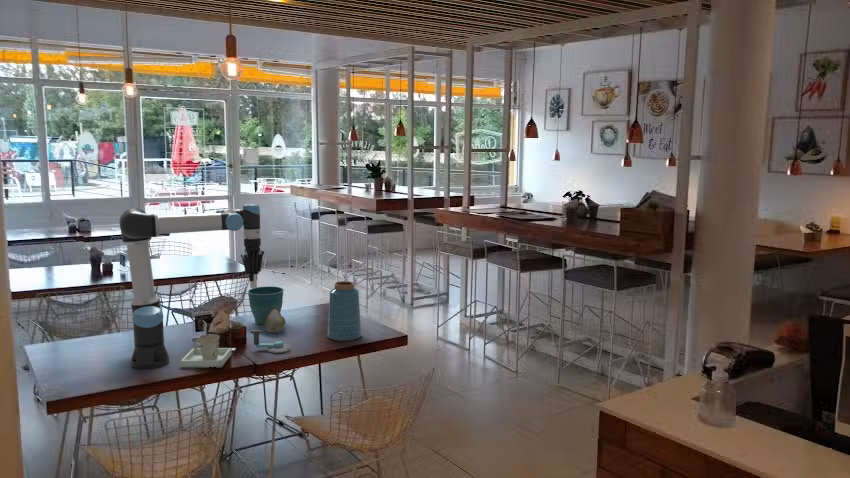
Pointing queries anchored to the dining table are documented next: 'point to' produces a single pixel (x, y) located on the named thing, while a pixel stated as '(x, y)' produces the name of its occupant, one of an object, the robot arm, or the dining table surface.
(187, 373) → the dining table surface
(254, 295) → the flower pot
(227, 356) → the tray
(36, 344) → the dining table surface
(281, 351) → the pedestal
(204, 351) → the mug
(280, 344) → the crank
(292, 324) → the dining table surface
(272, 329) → the fruit
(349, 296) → the vase
